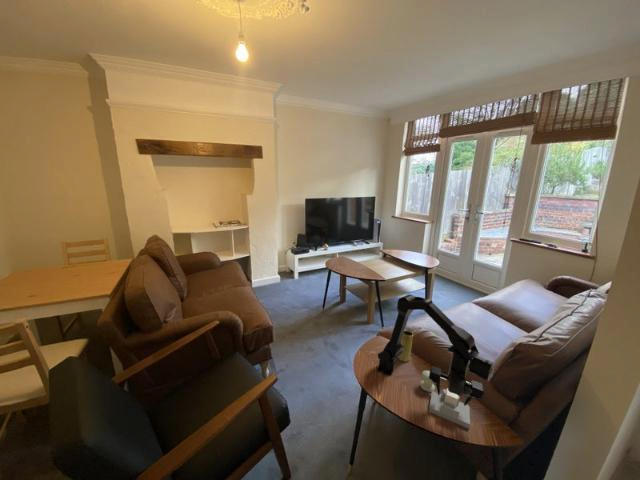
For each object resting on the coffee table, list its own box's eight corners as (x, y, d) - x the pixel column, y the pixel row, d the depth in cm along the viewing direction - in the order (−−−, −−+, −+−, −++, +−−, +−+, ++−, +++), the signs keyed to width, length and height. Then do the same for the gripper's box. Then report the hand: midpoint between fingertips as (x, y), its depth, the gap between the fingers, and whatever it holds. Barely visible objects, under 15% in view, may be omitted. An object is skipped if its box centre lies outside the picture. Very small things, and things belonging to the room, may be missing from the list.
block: (443, 407, 103) (446, 394, 102) (444, 400, 107) (446, 388, 106) (455, 412, 101) (458, 399, 100) (455, 405, 105) (457, 392, 104)
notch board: (428, 411, 103) (430, 400, 102) (431, 394, 112) (433, 384, 111) (469, 428, 97) (471, 417, 96) (468, 409, 106) (470, 399, 105)
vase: (410, 363, 132) (415, 337, 129) (398, 360, 133) (402, 335, 130) (409, 355, 138) (413, 331, 135) (397, 353, 139) (401, 328, 136)
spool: (419, 388, 115) (421, 376, 114) (421, 380, 120) (423, 368, 119) (433, 394, 112) (436, 382, 111) (435, 385, 118) (437, 373, 116)
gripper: (430, 367, 97) (423, 403, 101) (489, 388, 89) (479, 426, 92) (433, 352, 107) (427, 385, 110) (486, 369, 99) (477, 404, 102)
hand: (451, 399), depth 103 cm, fingers open, 9 cm apart
